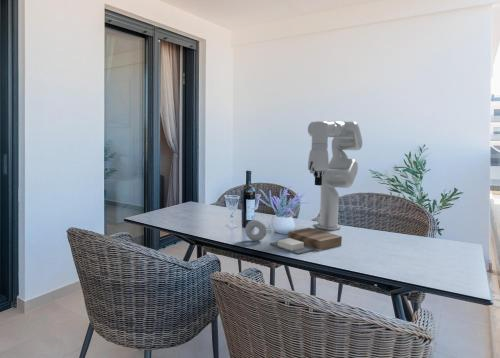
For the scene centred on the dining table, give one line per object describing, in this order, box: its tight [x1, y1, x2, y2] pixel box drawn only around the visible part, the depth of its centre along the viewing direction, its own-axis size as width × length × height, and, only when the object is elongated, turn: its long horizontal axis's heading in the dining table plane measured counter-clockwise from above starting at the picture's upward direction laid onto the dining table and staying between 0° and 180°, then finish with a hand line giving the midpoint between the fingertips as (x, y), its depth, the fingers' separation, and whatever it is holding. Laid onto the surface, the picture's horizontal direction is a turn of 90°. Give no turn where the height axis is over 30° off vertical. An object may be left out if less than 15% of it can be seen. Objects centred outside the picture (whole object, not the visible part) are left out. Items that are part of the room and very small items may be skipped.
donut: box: [244, 219, 267, 242], centre depth 174 cm, size 10×4×10 cm, turn 80°
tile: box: [277, 237, 304, 251], centre depth 164 cm, size 9×7×2 cm
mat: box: [269, 241, 318, 255], centre depth 165 cm, size 18×11×1 cm, turn 37°
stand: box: [287, 227, 343, 251], centre depth 173 cm, size 20×14×4 cm
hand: (318, 185), depth 183 cm, fingers closed
